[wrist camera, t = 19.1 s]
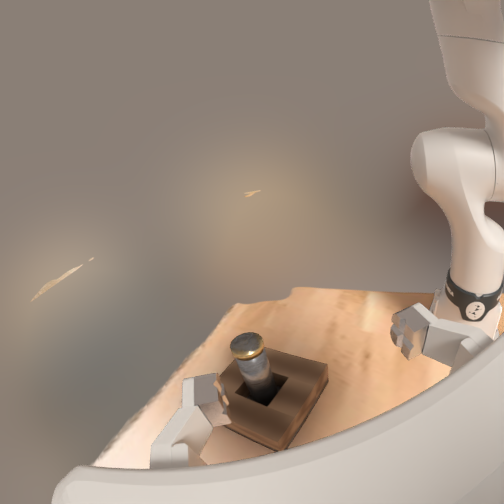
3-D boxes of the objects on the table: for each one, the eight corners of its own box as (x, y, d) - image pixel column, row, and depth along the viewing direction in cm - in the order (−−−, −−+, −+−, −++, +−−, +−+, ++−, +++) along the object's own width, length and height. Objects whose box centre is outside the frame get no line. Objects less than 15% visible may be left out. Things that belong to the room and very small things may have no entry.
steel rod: (262, 385, 45) (243, 329, 40) (284, 393, 43) (268, 336, 37) (248, 403, 42) (223, 349, 37) (270, 412, 39) (249, 358, 34)
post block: (255, 359, 53) (249, 342, 51) (328, 381, 44) (327, 364, 42) (205, 416, 42) (195, 401, 40) (282, 454, 32) (277, 442, 30)
